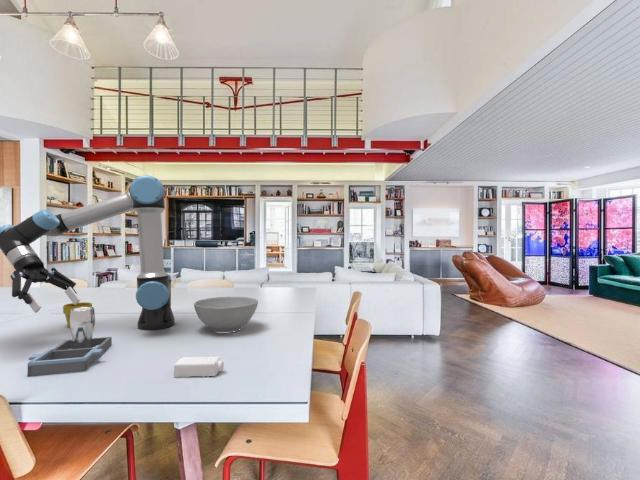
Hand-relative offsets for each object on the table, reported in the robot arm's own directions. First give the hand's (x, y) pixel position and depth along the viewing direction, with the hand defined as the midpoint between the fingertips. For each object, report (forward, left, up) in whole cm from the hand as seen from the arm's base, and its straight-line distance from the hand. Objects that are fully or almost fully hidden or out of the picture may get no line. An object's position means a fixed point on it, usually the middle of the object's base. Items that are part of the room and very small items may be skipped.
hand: (59, 305), depth 113 cm
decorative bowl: (-56, -12, -16) cm, 60 cm away
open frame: (-8, +11, -15) cm, 21 cm away
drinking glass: (-8, +5, -16) cm, 18 cm away
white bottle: (-47, +34, -16) cm, 60 cm away
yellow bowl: (+7, -35, -16) cm, 39 cm away
